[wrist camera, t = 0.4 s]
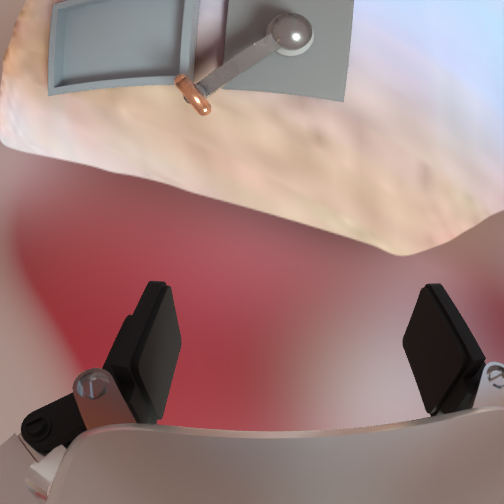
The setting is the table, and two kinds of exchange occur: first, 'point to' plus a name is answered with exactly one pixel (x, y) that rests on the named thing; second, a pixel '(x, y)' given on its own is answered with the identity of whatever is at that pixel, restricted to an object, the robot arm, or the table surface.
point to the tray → (120, 43)
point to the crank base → (299, 69)
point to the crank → (247, 59)
